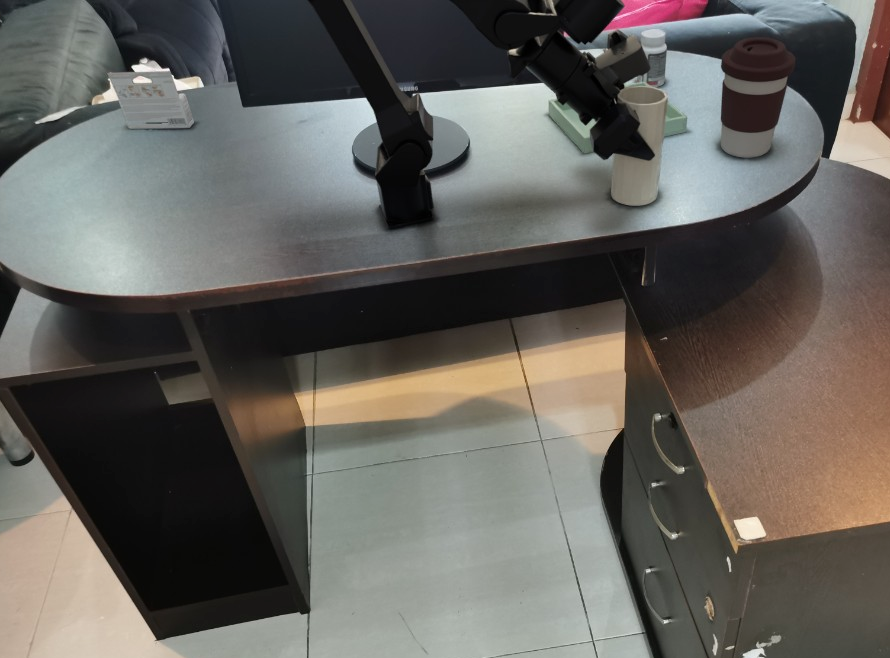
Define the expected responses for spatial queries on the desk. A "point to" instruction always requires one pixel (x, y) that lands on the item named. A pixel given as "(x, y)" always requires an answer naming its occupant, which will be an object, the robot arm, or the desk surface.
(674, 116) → the tray
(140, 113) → the ink cartridge box
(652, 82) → the pill bottle
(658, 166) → the tumbler
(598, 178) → the desk surface
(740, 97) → the coffee cup
